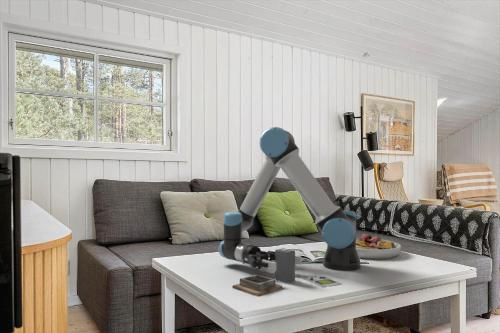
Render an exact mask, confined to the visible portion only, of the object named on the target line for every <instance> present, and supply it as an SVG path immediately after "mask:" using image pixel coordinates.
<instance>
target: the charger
mask: <svg viewBox="0 0 500 333" xmlns="http://www.w3.org/2000/svg"><path fill="white" fill-rule="evenodd" d="M274 252H275V260H274V262H275V263H276V271H274V272H275V276H274V277H275V278H274V279H275V280H276V281H277V282H281V283H284V284H289V283H293V282H295V281H296V263H295V256H296V250H295V249H290V248H277V249H275V251H274Z"/></svg>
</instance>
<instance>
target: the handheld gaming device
mask: <svg viewBox="0 0 500 333" xmlns="http://www.w3.org/2000/svg"><path fill="white" fill-rule="evenodd" d="M299 278H300V279H302V280H304V281H307V282H309V283H311V284H313V283H314V285H316V286H318V287H320V286H321V288H328V287H327V286H329V287H333V286H334V285H335V286H340V284H341V285H342V283H341V282H339V281H337V280H335V279H332V278H329V277H326V276H324V275H322V274H319V273H313V274H312V273H311V274H305V275H300V276H299Z"/></svg>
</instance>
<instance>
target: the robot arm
mask: <svg viewBox="0 0 500 333" xmlns="http://www.w3.org/2000/svg"><path fill="white" fill-rule="evenodd" d="M259 148H260V150H261V152H262V153H263V154H264V158H265V159H264V162H263V163H262V166H261V167H260V169H259V172H258V173H257V175H256V177H255V179H254V181H253V183H252V185H251V187H250V188H249V190H248V193H247V194H246V196H245V198H244V200H243V202H242V203H241V206H240V208H239V210H238V211H237V212H236V211H229V212H226V213H224V214H223V240H222V241H221V242H220V243H219V245H218V254H219V255H220V256H221V257H222V258H224V259H227V260H231V261H235V262H239V263H242V264H243V265H244V264H247V265H249V266H250V267H251V268H253V269H255V268H257V270H262V268H263V269H266V270H270V271H274V272H275V271H276V263H275V251H272V250H268V251H265V250H261V248H260V247H259V246H258V245H252V244H250V243H249V244H248V243H244V242H243V233H244V232H245V231H248V230H249V229H250V228H252V226H253V224H254V219H255V217H256V216H257V213H258V211H259V209H260V208H261V206H262V203H263V202H264V200H265V198H266V196H267V194H268V192H269V190H270V189H271V187H272V185H273V183H274V181H275V180H276V177H277V175H278V174H279V172H280V170H282V171H283V172H284V174H285V176H286V177H287V178H288V180H289V182H290V183H291V184H292V185H293V187H294V189H295V190H296V191H297V193H298V194H299V196H300V197H301V199H302V200H303V201H304V203H305V205H306V206H307V207H308V208H309V210H310V212H311V213H312V214H313V215H314V217H315V222H314V223H315V225H316V226H317V228H318V230H319V231H320V233H321V235H322V238H323V240H324V242H325V244H327V245H326V246H327V247H326V250H325V253H324V256H323V259H322V265H323V267H325V268H327V269H330V270H334V271H335V270H337V271H354V270H355V271H356V270H358V269H361V260H360V259H361V258H359V256H358V253H357V250H356V238H357V218H358V217H357V213H356V212H355V211H353V210H344V209H342V207H341V206H339V205H335V204H334V203H333V201H332V200H331V199H330V197H329V196H328V194H327V193H326V192H325V190H324V189H323V187H322V186H321V185H320V183H319V181H318V180H317V179H316V177H315V176H314V174H312V172H311V171H310V169H309V167H307V165H306V163H305V162H304V160H303V159H302V157H301V156H300V148H299V147H298V146H297V144H296V141H295V138H294V136H293V134H291V132H290V131H288V130H285V129H284V128H281V127H278V126H276V127H270V128H268V129H266V130H264V131H263V133H262V134H261V136H260V139H259ZM302 259H303V257H302V256H300V255H299V256H298V255H295V265H297V264H298V265H300V266H301V265H302V263H303V262H302V261H303V260H302Z"/></svg>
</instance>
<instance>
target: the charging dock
mask: <svg viewBox="0 0 500 333" xmlns="http://www.w3.org/2000/svg"><path fill="white" fill-rule="evenodd" d="M276 281H277V280H275V278H274V279H273V278H271V277H267V276H264V275H261V274H253V275H249V276H244V277H242V278H241V277H240V278H239V283H235V284H233V285H232V288H233V289H235V290H239V291H242V292H243V293H247V294H249V295H250V294H251V295H252V296H256V297H260V296H262V295H265V294H269V293H272V292H275V291H279V290H281V289H283V285H280V284H276V283H277V282H276Z"/></svg>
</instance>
